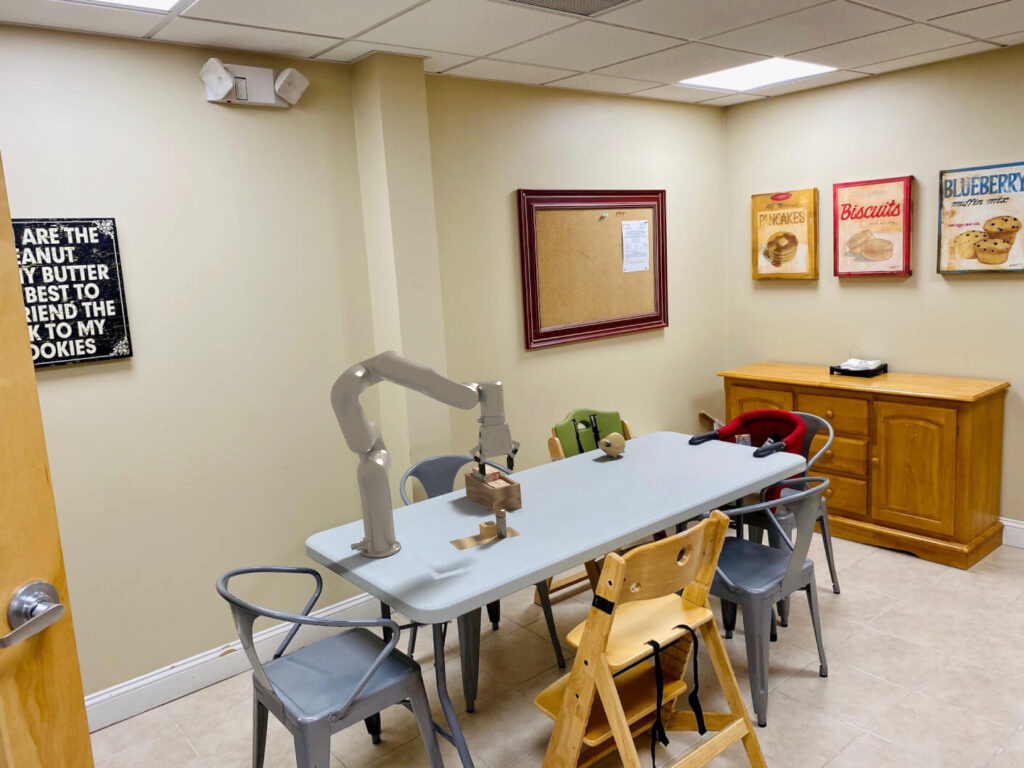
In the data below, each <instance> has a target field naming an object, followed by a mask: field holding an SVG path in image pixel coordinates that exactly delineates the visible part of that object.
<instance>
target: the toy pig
mask: <svg viewBox="0 0 1024 768" xmlns="http://www.w3.org/2000/svg"><path fill="white" fill-rule="evenodd" d="M597 446H598V448H599V449H600V450H601V451H603V452H604V453H605V454H606V455H607V456H610V457H613V458H615V459H616V458H617V457H618V455H620V454H621V455H622V454H625V453H626V450H625V449H626V440H625V438H624V436H623V435H622V434H620V433H619V432H615V431H614V432H611V433H609V434H607V435H606V436H605V437H604V438H602V439H600V440H598V441H597Z"/></svg>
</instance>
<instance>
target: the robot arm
mask: <svg viewBox="0 0 1024 768" xmlns="http://www.w3.org/2000/svg"><path fill="white" fill-rule="evenodd" d="M383 381H386V382H389V383H392V384H395V385H398V386H400V387H403V388H407V389H409V390H412V391H415V392H418V393H421V394H422V395H424V396H425V397H426V396H427V397H429V398H431V399H434V400H435V401H438V402H440V403H442V404H445V405H448V406H451V407H454V408H457V409H459V410H463V411H464V410H465V411H467V410H468V411H469V410H472V409H474V408H475V407H476V406H477V405H478V403H479V406H480V417H479V418H477V423H478V424H480V425H479V428H478V430H479V431H478V444H477V445H475V446H474V447H473V448H471V449H470V450H469V454H470V456H471V457H472V460H475V462H477V463H478V467H479V473H480V474H481V475H483V476H485V475H486V468H485V465H486V464H485V461H486V460H487V459H490V458H494V457H500V456H506V468H507V470H510V471H514V467H515V461H514V459H515V457H516V455H517V454H518V452H519V449H520V446H521V443H520V442H518V441H515V440H513V439H512V434H511V429H510V425H509V423H508V422H506V416H505V415H506V414H505V413H506V412H505V401H504V398H505V397H504V385H503V383H502V381H499V380H486V381H473V380H472V381H471V380H467V381H462V382H460V383H459V382H456V381H454V380H452V379H449V378H446V377H445V376H443V375H441V374H440V373H438V372H437V371H436V370H435V369H433V368H432V367H430V366H428V365H425V364H422V363H419V362H416V361H414V360H411V359H408V358H405V357H403V356H402V355H401V354H400V353H399V352H397V351H395V350H386V351H384V352H382V353H379V354H376V355H375V356H372V357H369V358H368V359H365V360H363V361H360V362H358V363H355V364H353V365H351V366H349V367H348V368H347V369H346V370H344V371H343V372H342V373H341V374H340V375H339V377H338V378H337V379H336V380H335V382H334V383H333V385H332V387H331V391H330V404H331V407H332V411H333V412H334V416H335V418H336V420H337V423H338V426H339V429H340V431H341V433H342V434H343V437H344V441H345V443H346V446H347V447H348V449H349V450H350V452H352V453H354V454H356V455H357V456H358V458H359V464H358V466H357V469H356V479H357V486H358V489H359V496H360V505H361V512H362V513H361V514H362V521H363V522H362V523H363V531H364V537H362V540H360V541H359V542H354V543H350V549H351V551H355V550H356V551H357V552H360V551H361V554H362V555H363V556H365V557H368V558H375V559H376V558H384V557H389V556H391V555H394V554H397V553H398V552H400V550H401V549H402V544H401V542H399V541H398V540H396V532H395V531H396V530H395V521H394V520H395V519H394V512H393V504H392V503H393V502H392V494H391V486H390V480H389V472H390V469H391V467H392V466H391V465H392V462H391V461H392V460H391V459H392V458H391V456H390V453H389V450H388V448H387V446H386V444H385V441H384V439H383V436H382V434H381V430H380V429H379V426H377V424H376V423H375V422H374V421H373V420H371V419H368V418H367V416H366V415H365V411H364V409H363V406H362V405H361V403H360V400H359V397H360V396H361V394H363V392H365V391H366V390H367V389H368V388H369V387H373V386H374V385H377V384H379V383H382V382H383ZM478 452H479V455H478V456H477V453H478Z"/></svg>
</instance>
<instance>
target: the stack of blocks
mask: <svg viewBox="0 0 1024 768" xmlns="http://www.w3.org/2000/svg"><path fill="white" fill-rule="evenodd" d="M485 468H486V475H485V476H483V475H481V474H480V473H479V467H478V466H472V467H471V470H472V471H471V472H473V477H475V478H476V479H478V480H480V481H482V482H483V483H485V484H487V485H489V486H490V487H492V488H494V489H495V488H499V487H504V486H508V485H510V484H508V483H507V482H505V481H503V480H501V479H500V474H501V472H500V470H498V469H495V468H494V467H492V466H490V465H488V464H485Z"/></svg>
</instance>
